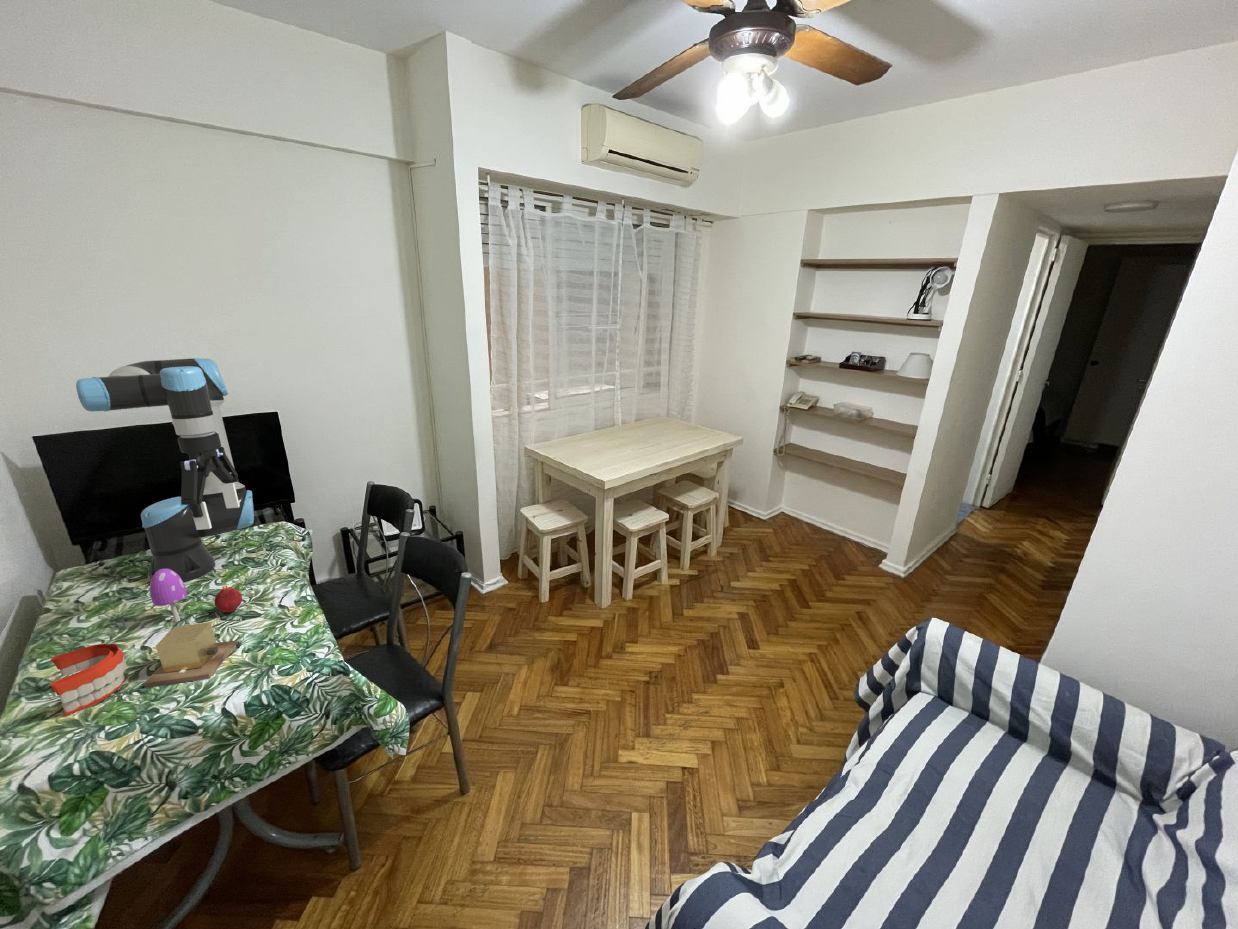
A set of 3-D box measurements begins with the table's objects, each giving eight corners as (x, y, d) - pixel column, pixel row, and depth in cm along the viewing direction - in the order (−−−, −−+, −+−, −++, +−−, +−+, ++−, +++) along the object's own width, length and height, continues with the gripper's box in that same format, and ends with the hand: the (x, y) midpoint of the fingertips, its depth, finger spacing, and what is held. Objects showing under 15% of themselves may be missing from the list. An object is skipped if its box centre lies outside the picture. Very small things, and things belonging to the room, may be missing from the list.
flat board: (178, 652, 117) (171, 630, 115) (236, 644, 119) (230, 622, 118) (145, 688, 106) (136, 664, 104) (209, 678, 108) (202, 655, 106)
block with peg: (225, 646, 117) (218, 621, 114) (209, 666, 110) (201, 639, 108) (174, 653, 114) (166, 627, 112) (155, 673, 108) (146, 646, 106)
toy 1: (135, 691, 105) (123, 660, 102) (63, 720, 97) (49, 686, 95) (129, 664, 113) (119, 634, 111) (63, 688, 106) (50, 657, 103)
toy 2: (174, 629, 125) (157, 577, 121) (153, 626, 126) (136, 574, 122) (200, 614, 131) (185, 564, 127) (180, 611, 133) (165, 562, 128)
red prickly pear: (249, 609, 133) (242, 583, 131) (224, 620, 129) (216, 594, 126) (238, 603, 136) (232, 578, 134) (214, 614, 132) (206, 588, 129)
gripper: (208, 423, 126) (227, 501, 132) (143, 448, 103) (170, 540, 109) (241, 422, 128) (259, 498, 134) (184, 446, 104) (209, 537, 111)
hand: (219, 517), depth 121 cm, fingers open, 13 cm apart
